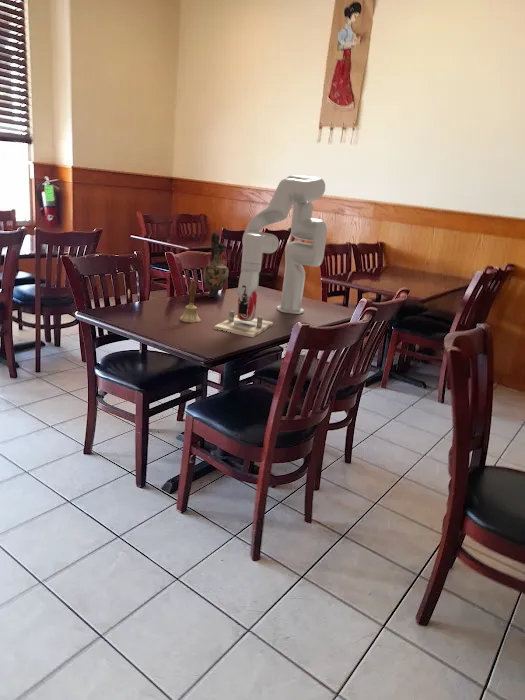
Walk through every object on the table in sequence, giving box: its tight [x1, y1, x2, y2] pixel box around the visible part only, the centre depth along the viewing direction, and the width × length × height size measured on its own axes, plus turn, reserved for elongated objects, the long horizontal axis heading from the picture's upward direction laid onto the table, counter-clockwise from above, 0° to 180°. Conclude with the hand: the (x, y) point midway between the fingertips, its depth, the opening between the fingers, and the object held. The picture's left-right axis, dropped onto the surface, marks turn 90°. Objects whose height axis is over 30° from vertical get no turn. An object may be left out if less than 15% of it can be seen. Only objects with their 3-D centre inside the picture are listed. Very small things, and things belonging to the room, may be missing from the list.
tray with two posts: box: [213, 310, 274, 338], centre depth 197 cm, size 22×16×5 cm
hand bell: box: [179, 279, 202, 324], centre depth 196 cm, size 8×8×16 cm
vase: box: [203, 232, 230, 299], centre depth 239 cm, size 12×12×30 cm
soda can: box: [236, 290, 258, 321], centre depth 195 cm, size 7×7×12 cm
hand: (246, 311), depth 196 cm, fingers closed on soda can, 7 cm apart
